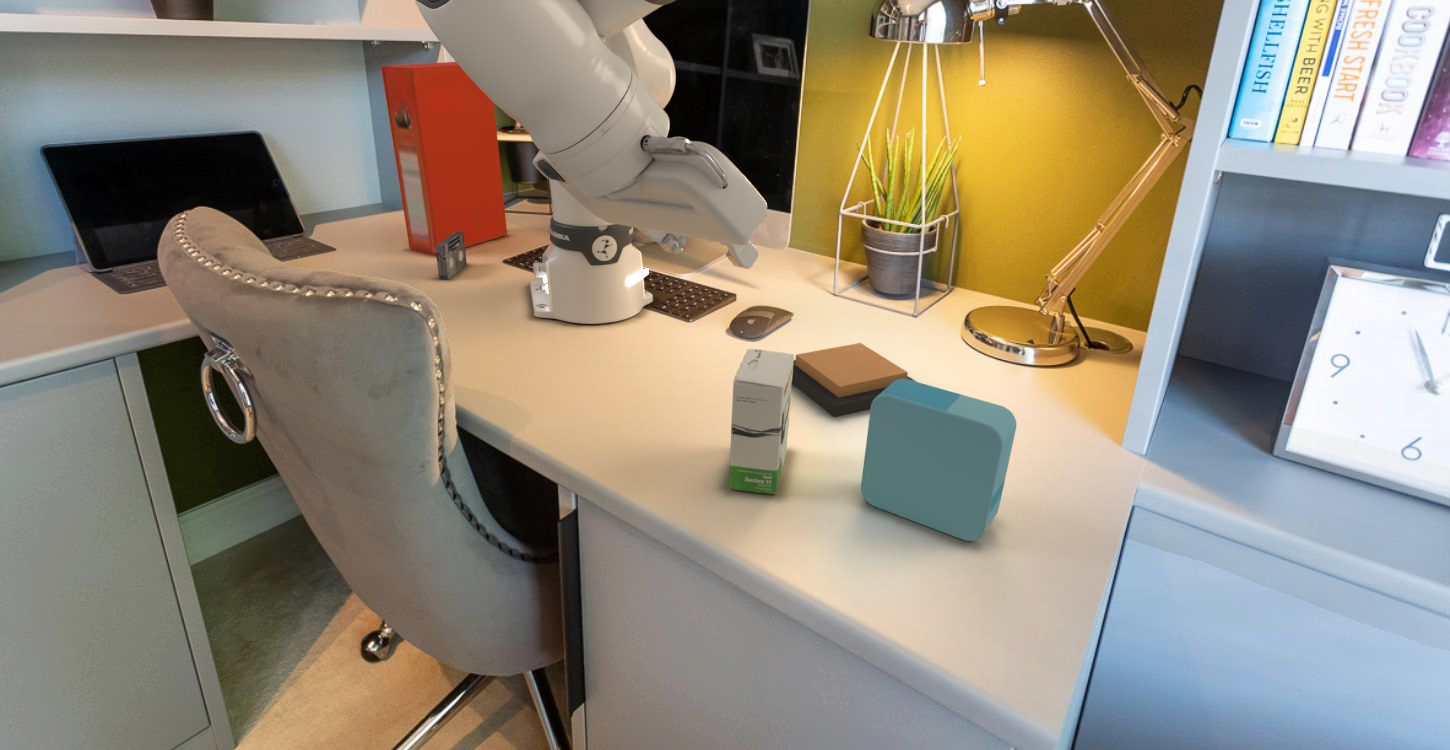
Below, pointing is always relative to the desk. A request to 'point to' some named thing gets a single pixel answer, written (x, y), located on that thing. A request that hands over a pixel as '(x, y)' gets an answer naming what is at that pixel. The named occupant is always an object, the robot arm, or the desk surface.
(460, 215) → the file binder
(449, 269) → the mini dv tape
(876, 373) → the pad stack
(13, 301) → the desk surface
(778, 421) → the ink box
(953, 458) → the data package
